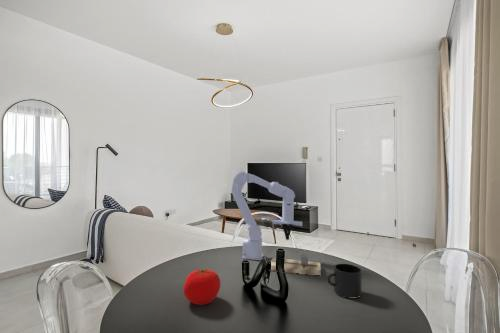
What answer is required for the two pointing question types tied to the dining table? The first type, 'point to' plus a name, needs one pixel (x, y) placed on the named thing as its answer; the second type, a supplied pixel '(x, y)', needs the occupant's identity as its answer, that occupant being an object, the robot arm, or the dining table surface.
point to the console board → (298, 267)
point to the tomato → (201, 286)
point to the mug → (347, 280)
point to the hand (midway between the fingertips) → (287, 239)
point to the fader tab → (304, 259)
